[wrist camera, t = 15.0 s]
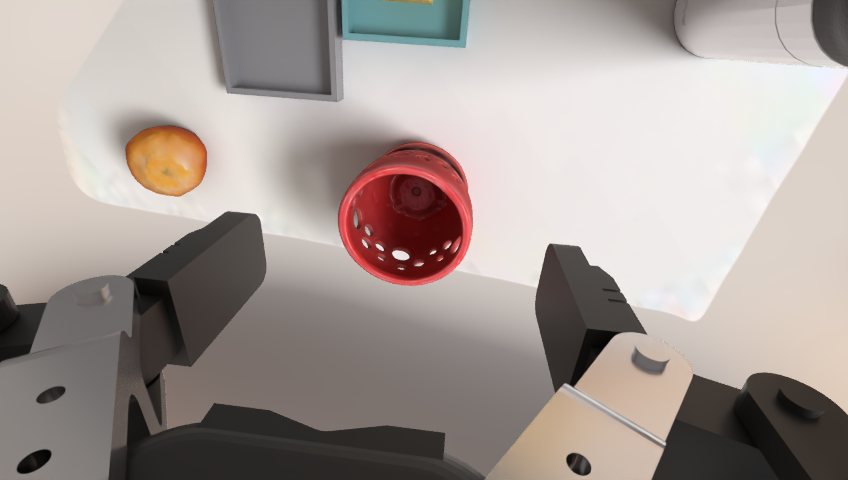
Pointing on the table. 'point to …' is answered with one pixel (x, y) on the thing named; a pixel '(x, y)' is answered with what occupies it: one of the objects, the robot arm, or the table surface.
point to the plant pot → (408, 215)
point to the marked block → (413, 1)
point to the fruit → (167, 160)
